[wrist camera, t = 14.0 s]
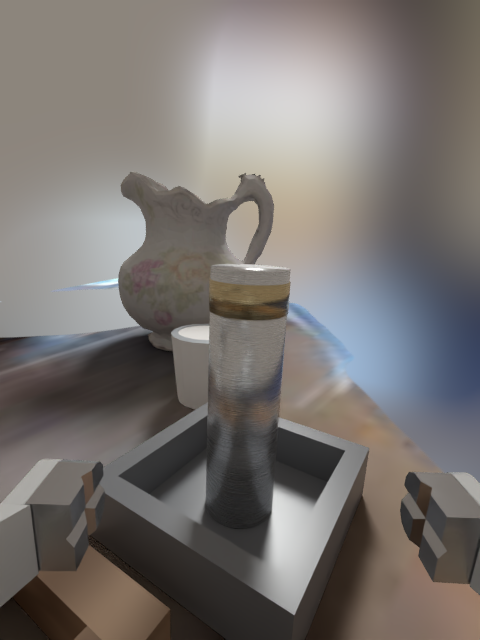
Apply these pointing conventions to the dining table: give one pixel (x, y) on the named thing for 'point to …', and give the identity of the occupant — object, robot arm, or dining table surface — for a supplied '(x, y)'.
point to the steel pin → (244, 390)
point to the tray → (234, 544)
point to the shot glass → (191, 363)
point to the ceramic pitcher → (183, 252)
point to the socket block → (93, 604)
